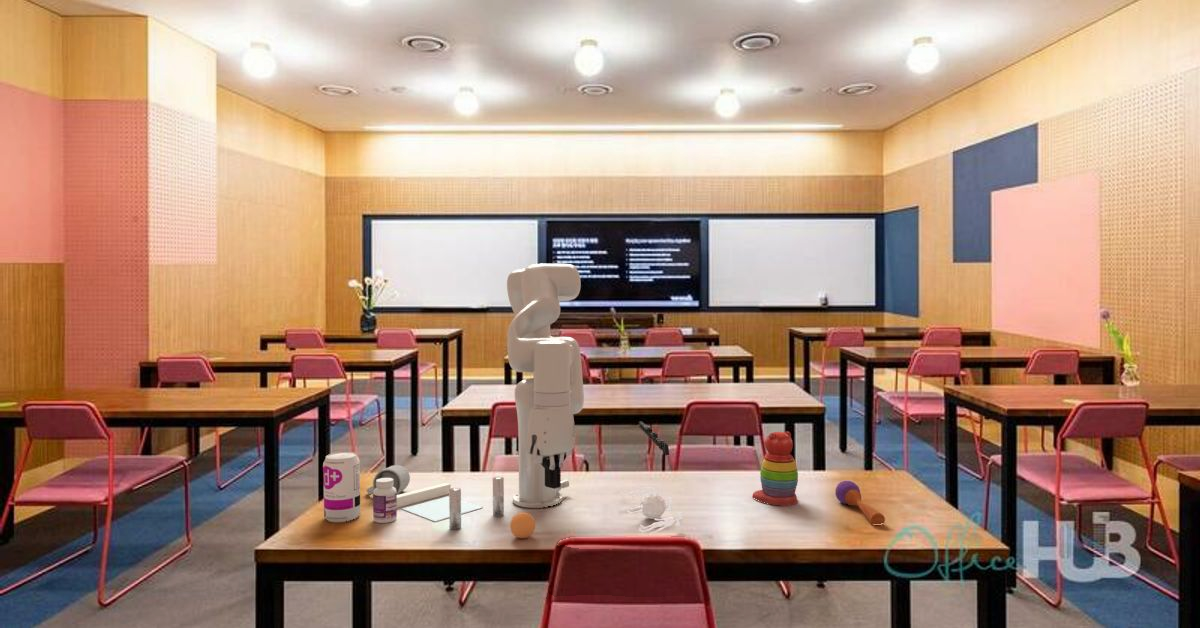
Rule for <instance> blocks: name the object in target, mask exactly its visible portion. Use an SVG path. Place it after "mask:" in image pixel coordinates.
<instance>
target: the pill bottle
mask: <svg viewBox="0 0 1200 628" xmlns="http://www.w3.org/2000/svg"><path fill="white" fill-rule="evenodd" d="M393 484H394V481H393V479H392V478H380V479H377V480H376V487H377V488H376V489H375V490H374V491H373V493H372V504H373V505H372V508H373V509H372V512H373V515H372V519H373V522H375V523H379V524H389V523H391V522H394V521H396V520H397V517H398V512H397V511H398V510H397V509H398V508H397V491H396V488H395V487H393Z"/></svg>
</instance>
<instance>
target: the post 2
mask: <svg viewBox="0 0 1200 628" xmlns="http://www.w3.org/2000/svg"><path fill="white" fill-rule="evenodd" d="M504 483H505V481H504V476H493V477H492V516H493V517H496V518H498V517H504V515H505V509H504V508H505V503H504V502H505V496H504V495H505V494H504V492H505V491H504V490H505V489H504V487H505V486H504Z"/></svg>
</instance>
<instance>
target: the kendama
mask: <svg viewBox="0 0 1200 628" xmlns="http://www.w3.org/2000/svg"><path fill="white" fill-rule="evenodd" d="M835 497H836V499H837V500H838V502H840V503H841V504H843V503H844V504H843V505H846V504H848V505H847V506H852V507H855V506H858V507H859V509H860V510H861V512H862V513H863V514H864V516H865V517H866V519H867V520H868V521H869V523H871V525H872V524H881V523H884V524H885V520H886V518H885V516H884V515H883V513H881V512H879V510H876V509H875V508H873V507H871V506H870V505H867V504H866V503H864V502H863V501H862V493H861V490H860V488H859V486H858V484H856V482H854V481H852V480H843V481H840V482H839V483H838V484H836V487H835Z"/></svg>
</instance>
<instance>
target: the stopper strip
mask: <svg viewBox="0 0 1200 628" xmlns="http://www.w3.org/2000/svg"><path fill="white" fill-rule="evenodd" d="M451 488H452V487H451V483H447V482H444V483H439V484H436V485H432V486H427V487H424V488H420V489H416V490H413V491H408V492H405V493H399V494H398V495H397V509H398V508H403V507H405V506H408V505H409V506H410V505H413V504H417V503H421V502H423V501H424V502H425V501H427V500H433V499H437V498H439V497H442V496H446V495H449V489H451Z"/></svg>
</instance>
